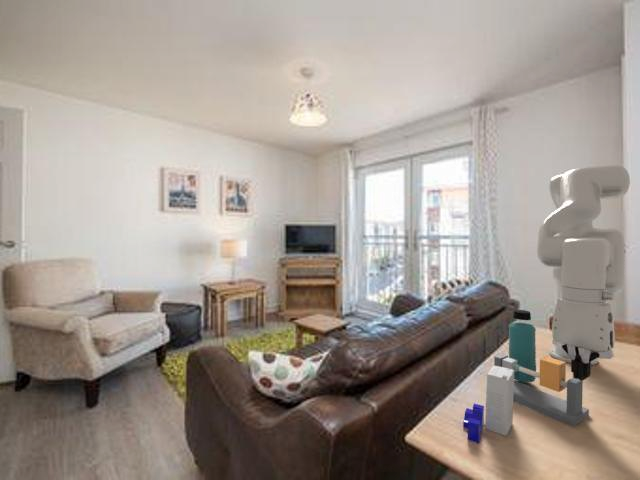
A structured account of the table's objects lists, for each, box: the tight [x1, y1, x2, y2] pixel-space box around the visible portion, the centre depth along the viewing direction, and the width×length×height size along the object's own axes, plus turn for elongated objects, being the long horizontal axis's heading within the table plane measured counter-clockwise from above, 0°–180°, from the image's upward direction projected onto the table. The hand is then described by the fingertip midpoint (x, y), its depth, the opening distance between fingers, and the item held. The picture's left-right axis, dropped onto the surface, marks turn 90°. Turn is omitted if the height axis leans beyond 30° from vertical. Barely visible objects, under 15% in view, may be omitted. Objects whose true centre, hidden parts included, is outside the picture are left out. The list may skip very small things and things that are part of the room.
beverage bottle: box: [507, 309, 537, 383], centre depth 90 cm, size 6×7×20 cm
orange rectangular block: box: [539, 356, 567, 393], centre depth 76 cm, size 3×4×6 cm
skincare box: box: [484, 365, 515, 436], centre depth 70 cm, size 6×4×12 cm
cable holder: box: [462, 403, 485, 444], centre depth 69 cm, size 8×4×4 cm, turn 147°
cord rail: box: [493, 353, 590, 428], centre depth 80 cm, size 8×19×9 cm, turn 32°
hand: (580, 377), depth 72 cm, fingers closed
